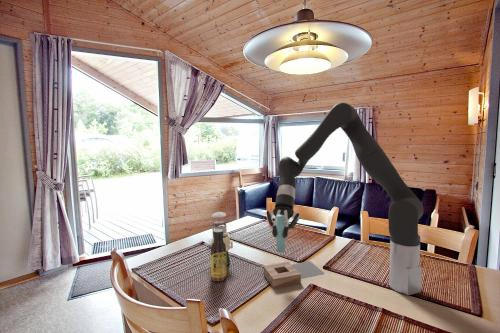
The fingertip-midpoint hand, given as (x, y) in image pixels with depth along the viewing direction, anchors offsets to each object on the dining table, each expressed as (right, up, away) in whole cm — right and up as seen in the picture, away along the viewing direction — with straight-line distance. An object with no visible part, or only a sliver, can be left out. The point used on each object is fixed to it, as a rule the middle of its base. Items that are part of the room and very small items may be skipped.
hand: (279, 236), depth 103 cm
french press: (-29, -14, +49) cm, 59 cm away
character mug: (-23, -17, +19) cm, 34 cm away
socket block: (+1, -18, +4) cm, 18 cm away
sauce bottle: (-24, -18, +6) cm, 31 cm away
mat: (+12, -17, +11) cm, 23 cm away
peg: (+1, -6, +3) cm, 7 cm away
